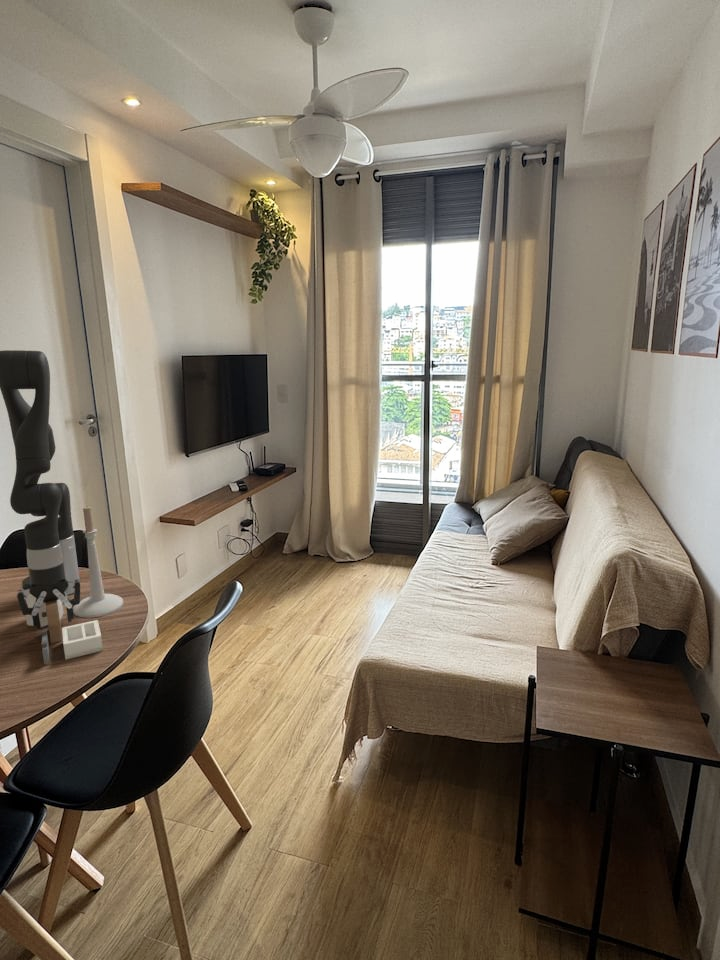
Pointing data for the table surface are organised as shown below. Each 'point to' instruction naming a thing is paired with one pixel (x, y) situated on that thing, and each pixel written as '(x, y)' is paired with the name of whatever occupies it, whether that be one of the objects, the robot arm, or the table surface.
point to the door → (53, 621)
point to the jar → (30, 603)
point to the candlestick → (95, 580)
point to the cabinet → (76, 640)
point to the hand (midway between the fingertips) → (54, 623)
